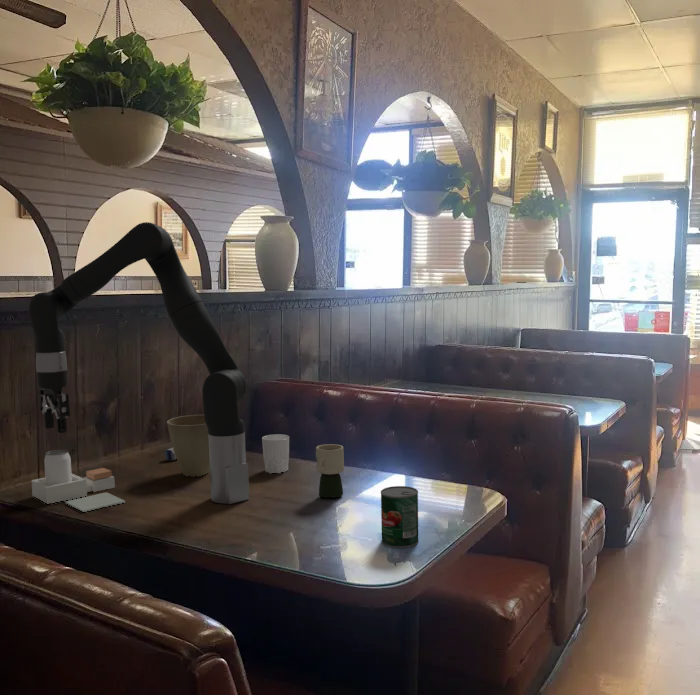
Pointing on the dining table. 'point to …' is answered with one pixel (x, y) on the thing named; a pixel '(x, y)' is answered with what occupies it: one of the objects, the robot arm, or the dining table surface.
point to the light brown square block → (98, 473)
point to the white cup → (276, 453)
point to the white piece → (69, 488)
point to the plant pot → (190, 444)
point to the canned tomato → (399, 516)
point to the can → (57, 467)
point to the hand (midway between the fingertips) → (55, 430)
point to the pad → (95, 502)
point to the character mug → (330, 469)
